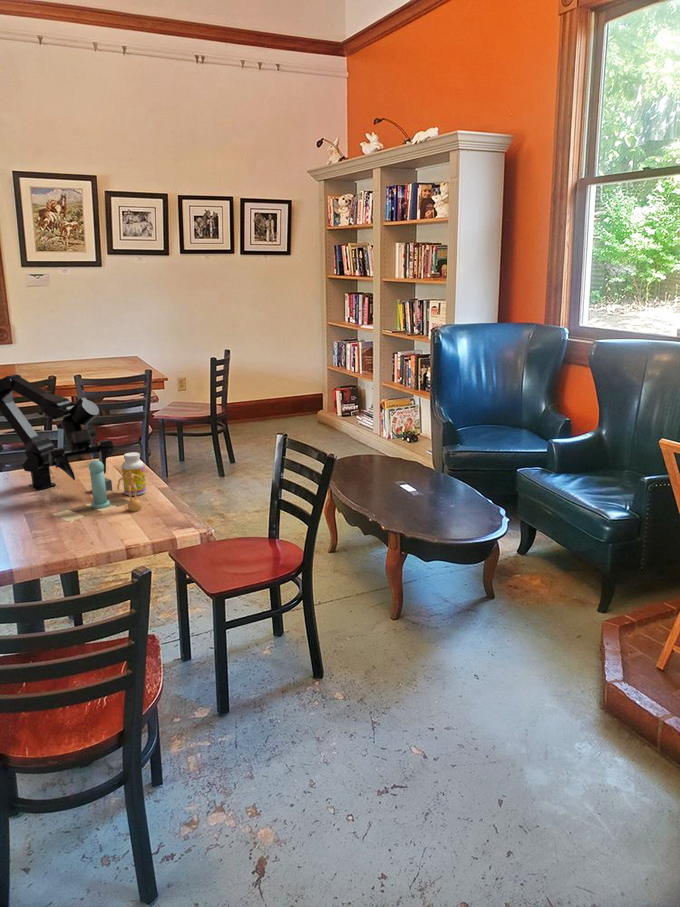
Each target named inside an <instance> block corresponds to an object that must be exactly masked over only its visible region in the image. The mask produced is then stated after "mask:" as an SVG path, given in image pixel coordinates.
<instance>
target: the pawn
mask: <svg viewBox="0 0 680 907" xmlns="http://www.w3.org/2000/svg"><path fill="white" fill-rule="evenodd" d="M88 465H89V466H88V471H89V472H90V473H89V476H90V483H91V491H92V497H93V498H92V499H93V501H92V502H90V503H91V506H92V507H91V508H95V509H96V510H97V509H101V508H106V507H108V506H110V501H109V500H107V498H108V497H107V491H106V487H105V478H106V477H105V474H104V471H103V470H104V465H103V463H102V462H101V461H99V459H97V460H95V459H94V460H92V461H91V462H90V463H89V464H88Z"/></svg>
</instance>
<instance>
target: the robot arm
mask: <svg viewBox="0 0 680 907" xmlns="http://www.w3.org/2000/svg"><path fill="white" fill-rule="evenodd" d="M13 392H15V393H17V394H18V395H20V396H22V397H24V398H25V399H27V400H29V401H31V402H32V403H34V404H35V405H37V406H38V407H39V408H40V410H41V412H42V413H44V415H46V416H47V417H48V418H50V419H51V420H56V419H60V418H63V419H60V420H59V422H58V424H57V426H56V428H57V429H58V430H63V433H64V436H65V440H66V444H67V446H68V447H69V450H68V451H65V448H64V447H59V448H56V446H55V445H54V444H53V443H52V441H51V439H50V438H49V437H45V438H42V437H41V436H39V435H38V433H37V432H36V430H35V429H34V428H33V426H32V424H30V422H29V421H28V419H27V418H26V417H25V415H24V414H23V413H22V411H21V410H20V408H19V407H18V405H17V404H16V403H15V401H14V395H13V394H14V393H13ZM0 412H1V414H2V415H3V416H4V418H5V419H6V420H7V423H8V424H9V425H10V426H11V428H12V429H13V430H14V432H15V434H17V436H18V437H19V438H20V440H21V441H22V443H23V445H24V449H25V456H26V457H27V458H26V460H25V461H24V462H23V464H22V468H23V470H24V472H28V473H29V472H30V476H31V483H30V484H28V485H27V486H28V487H29V488H31V489H33V490H35V491H40V490H43V489H47V488H51V487H55V486H57V484H56V483H54V482H52V478H51V470H50V469H51V468H50V467H55V468H57V469H58V468H59V469H60V470H62V471H63V472H65V473H66V474H67V475H68V477H70V478H71V479H72V480H73V481H75V480H76V477H75V473H74V470H73V468H72V467H71V464H70V461H69V458H75V457H79V456H81V457H82V456H86V455H89V454H91V455H92V454H95V453H96V454H97V455H98V456H99V457H98V461H101V462H102V463H103V465H104V470H103V471H104V475H105V474H106V473H107V459H108V458H109V456H112V454H113V451H114V448H115V445H114V442H113V440H111V439H105V440H99V441H98V442H97V445H95V446H91V444H92V440H93V439H95V438H96V437H98V433H97V429H96V427H95V426H89V427H88V428H87V429H84V427H83V426H86V425H88V424H90V422H91V421H92V420H93V419H94V418H96V417H97V415H98V414H99V413H100V409H99V407H98V405H97V404H96V403H94V402H93V401H91V400H89V399H87V398H86V397H85V396H84V397H81V398H79V399H78V400H77V402H76V403H75V402H72V401H71V400H70V399H68V398H67V397H64V396H62V395H59V394H52V393H50V392H47V391H45V390H44V389H42V388H40V387H39V386H37V385H35V384H34V383H32V382H31V381H29V380H26V379H24V378H23V377H22V376H21V375H20V374H10V375H6V376H4V377H3V378H0Z"/></svg>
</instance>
